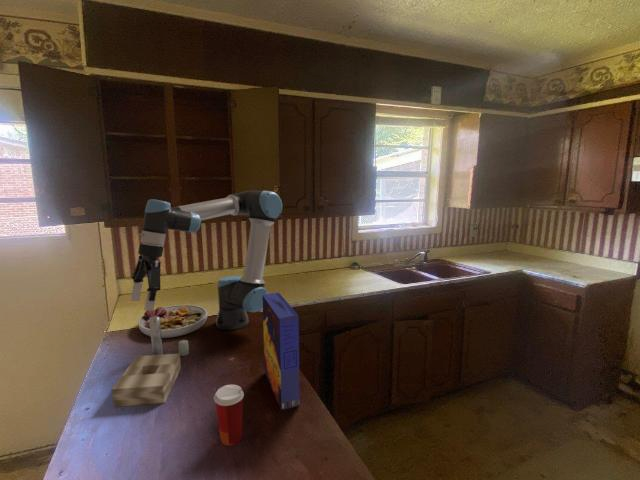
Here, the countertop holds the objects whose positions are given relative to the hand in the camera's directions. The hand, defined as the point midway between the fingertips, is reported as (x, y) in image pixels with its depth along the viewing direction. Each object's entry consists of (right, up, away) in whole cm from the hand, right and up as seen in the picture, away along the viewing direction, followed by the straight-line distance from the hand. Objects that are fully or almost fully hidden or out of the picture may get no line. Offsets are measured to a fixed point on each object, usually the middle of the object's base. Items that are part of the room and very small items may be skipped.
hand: (141, 305), depth 120 cm
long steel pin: (-3, -23, +19) cm, 30 cm away
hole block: (+4, -27, -1) cm, 27 cm away
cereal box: (+48, -28, -2) cm, 56 cm away
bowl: (-8, -19, +46) cm, 50 cm away
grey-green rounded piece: (+7, -23, +20) cm, 31 cm away
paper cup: (+37, -32, -25) cm, 55 cm away
